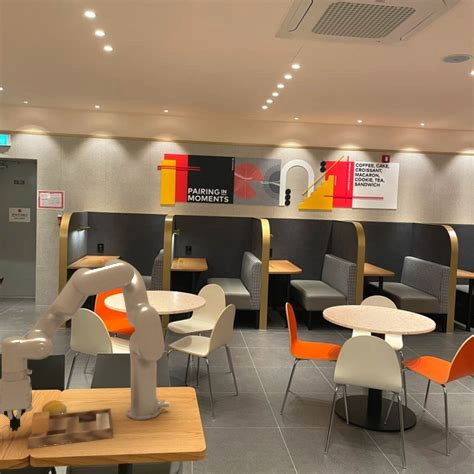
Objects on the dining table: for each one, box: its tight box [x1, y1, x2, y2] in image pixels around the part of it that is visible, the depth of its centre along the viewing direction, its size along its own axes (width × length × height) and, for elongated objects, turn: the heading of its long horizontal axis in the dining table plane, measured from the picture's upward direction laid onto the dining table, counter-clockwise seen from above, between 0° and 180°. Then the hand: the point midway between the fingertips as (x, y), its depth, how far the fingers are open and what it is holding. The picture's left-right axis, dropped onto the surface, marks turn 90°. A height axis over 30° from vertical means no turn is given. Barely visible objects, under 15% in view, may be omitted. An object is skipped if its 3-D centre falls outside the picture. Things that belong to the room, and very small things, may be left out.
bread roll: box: [41, 399, 67, 415], centre depth 176 cm, size 8×9×4 cm
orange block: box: [31, 411, 49, 434], centre depth 157 cm, size 5×5×5 cm
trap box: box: [27, 407, 114, 450], centre depth 160 cm, size 26×17×3 cm, turn 108°
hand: (15, 429), depth 155 cm, fingers closed
